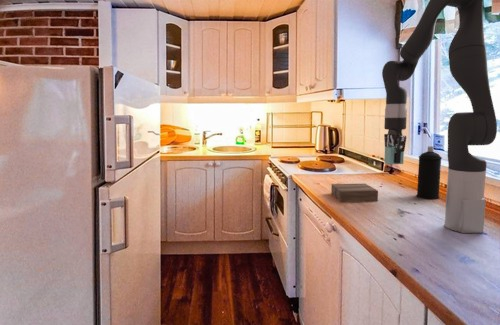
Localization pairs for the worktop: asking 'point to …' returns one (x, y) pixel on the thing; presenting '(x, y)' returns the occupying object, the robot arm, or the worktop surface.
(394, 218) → the worktop surface
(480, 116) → the robot arm
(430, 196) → the aerosol can
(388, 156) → the teal block
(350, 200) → the stacking base
